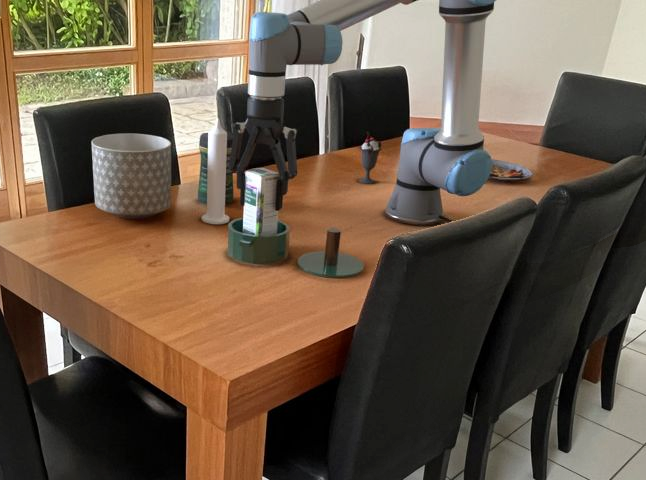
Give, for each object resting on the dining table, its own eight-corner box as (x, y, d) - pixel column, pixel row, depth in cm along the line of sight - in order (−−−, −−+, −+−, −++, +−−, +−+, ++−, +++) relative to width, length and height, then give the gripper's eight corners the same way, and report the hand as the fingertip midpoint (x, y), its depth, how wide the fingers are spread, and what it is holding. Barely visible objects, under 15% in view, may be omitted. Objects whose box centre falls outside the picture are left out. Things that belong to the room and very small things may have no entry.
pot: (298, 247, 175) (300, 219, 172) (272, 274, 159) (274, 244, 156) (243, 238, 179) (245, 210, 175) (213, 264, 163) (214, 234, 159)
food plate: (539, 187, 234) (542, 176, 233) (466, 183, 234) (468, 171, 232) (517, 167, 256) (519, 157, 254) (450, 163, 256) (451, 153, 254)
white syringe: (219, 226, 185) (221, 122, 173) (196, 220, 188) (197, 117, 176) (234, 219, 191) (238, 118, 178) (212, 214, 194) (214, 113, 181)
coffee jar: (213, 208, 198) (214, 136, 189) (192, 201, 203) (193, 130, 193) (238, 201, 204) (241, 132, 195) (218, 195, 209) (220, 126, 200)
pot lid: (369, 262, 169) (374, 225, 164) (355, 285, 157) (360, 245, 152) (307, 252, 172) (310, 215, 168) (288, 273, 160) (291, 234, 156)
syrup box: (241, 235, 167) (243, 170, 160) (261, 230, 170) (264, 166, 163) (258, 242, 163) (260, 176, 156) (278, 237, 167) (281, 172, 160)
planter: (79, 214, 188) (74, 140, 179) (134, 199, 201) (132, 130, 192) (133, 232, 178) (130, 155, 169) (186, 215, 192) (187, 143, 183)
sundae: (353, 182, 228) (359, 132, 220) (359, 177, 233) (365, 128, 226) (374, 185, 226) (380, 135, 218) (379, 180, 231) (386, 131, 224)
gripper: (318, 98, 152) (310, 208, 164) (226, 89, 158) (224, 195, 169) (308, 104, 146) (300, 217, 158) (212, 94, 152) (211, 204, 163)
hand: (261, 206), depth 163 cm, fingers closed on syrup box, 7 cm apart
